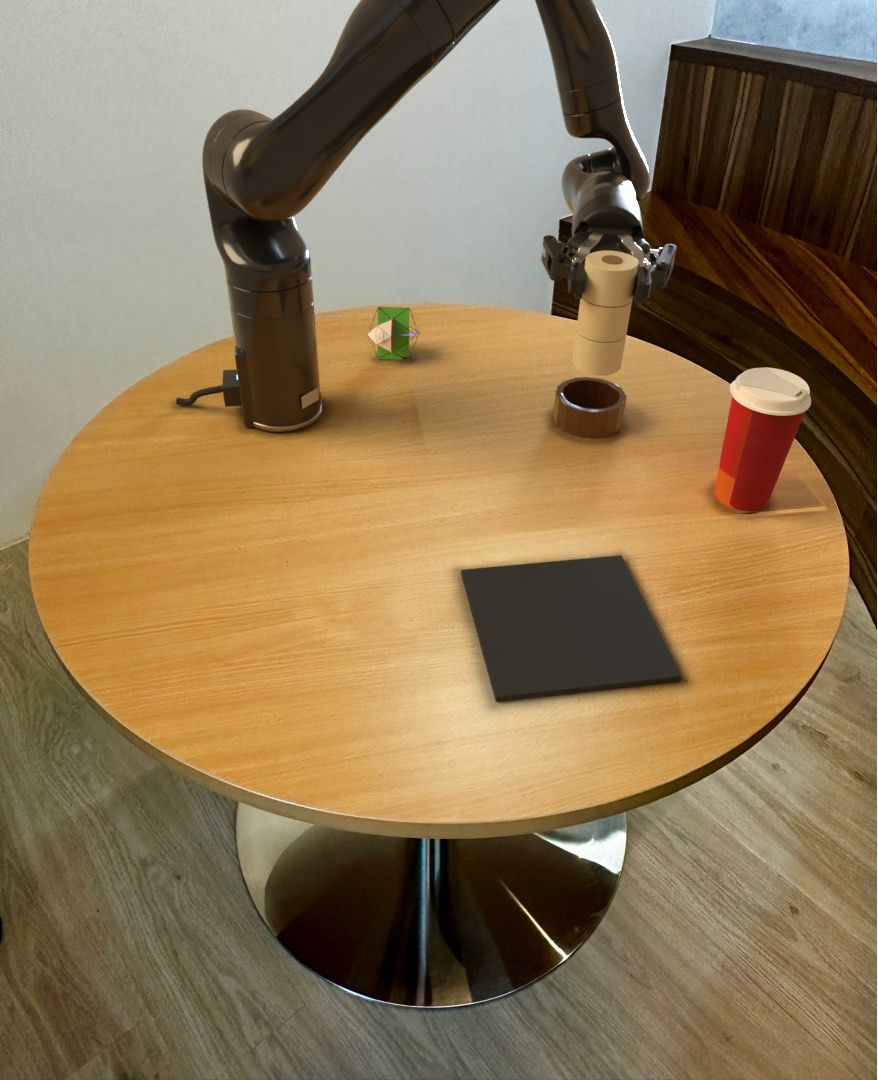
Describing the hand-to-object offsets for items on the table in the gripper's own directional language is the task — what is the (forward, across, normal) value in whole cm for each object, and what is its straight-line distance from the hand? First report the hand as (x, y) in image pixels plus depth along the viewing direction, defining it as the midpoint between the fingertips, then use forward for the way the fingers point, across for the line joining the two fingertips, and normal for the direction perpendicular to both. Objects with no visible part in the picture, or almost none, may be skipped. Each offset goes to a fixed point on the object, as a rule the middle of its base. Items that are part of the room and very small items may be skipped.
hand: (609, 291), depth 83 cm
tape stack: (-3, 0, +9) cm, 9 cm away
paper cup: (+1, +17, +22) cm, 28 cm away
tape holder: (-12, +1, +22) cm, 25 cm away
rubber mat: (+23, -1, +22) cm, 32 cm away
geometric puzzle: (-25, -25, +22) cm, 42 cm away
